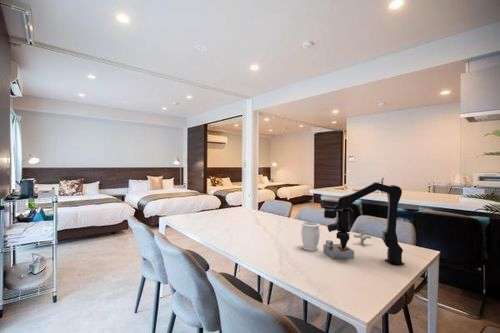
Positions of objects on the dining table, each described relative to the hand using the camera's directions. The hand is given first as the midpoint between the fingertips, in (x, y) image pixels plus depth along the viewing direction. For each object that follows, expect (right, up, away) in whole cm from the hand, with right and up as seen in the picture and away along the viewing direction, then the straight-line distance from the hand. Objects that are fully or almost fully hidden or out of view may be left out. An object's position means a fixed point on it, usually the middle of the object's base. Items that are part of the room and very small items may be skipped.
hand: (343, 247), depth 132 cm
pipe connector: (+20, -5, +20) cm, 29 cm away
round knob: (0, -2, 0) cm, 2 cm away
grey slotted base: (-2, -5, +2) cm, 5 cm away
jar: (-15, -5, +11) cm, 20 cm away
